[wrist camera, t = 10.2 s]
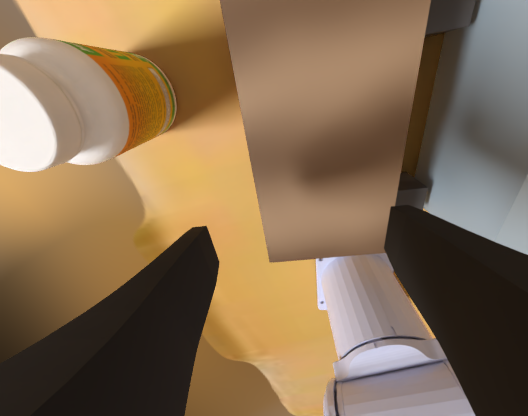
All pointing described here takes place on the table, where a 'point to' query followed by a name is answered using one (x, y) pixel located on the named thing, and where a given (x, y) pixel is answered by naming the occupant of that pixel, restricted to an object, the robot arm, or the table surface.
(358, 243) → the cabinet
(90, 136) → the supplement bottle
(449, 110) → the door panel
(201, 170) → the table surface
